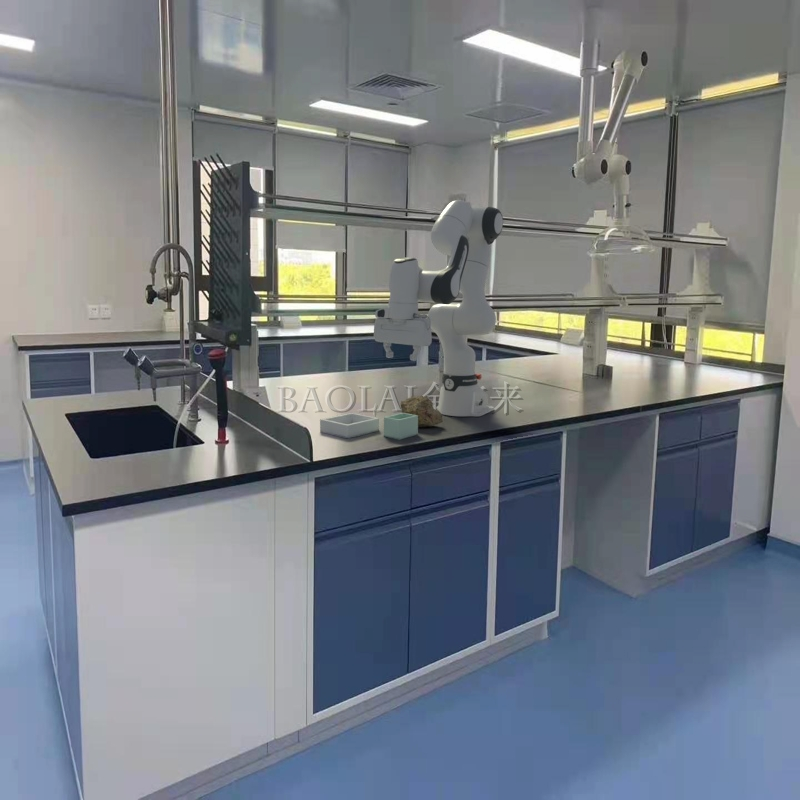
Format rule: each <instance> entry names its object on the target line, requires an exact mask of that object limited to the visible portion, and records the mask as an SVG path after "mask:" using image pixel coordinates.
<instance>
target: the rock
mask: <svg viewBox="0 0 800 800" xmlns="http://www.w3.org/2000/svg"><path fill="white" fill-rule="evenodd" d="M400 408H401V413H407V414H412V415H417V416H418V428H426V427H434V426H435V425H439V424H442V423H443V417H442V416H443V414H441V413H440V412H439V411H438V410H437V409H436V408H434V407H433V401H432V400H431V399H430V398H428V397H424V396H423V395H420V396H419V395H417V396H416V395H414V396H411V397H408V398H406V399H405V400H401V401H400Z"/></svg>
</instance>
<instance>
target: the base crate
mask: <svg viewBox="0 0 800 800" xmlns="http://www.w3.org/2000/svg"><path fill="white" fill-rule="evenodd" d="M319 427H320V428H319V431H320V433H322V434H327V435H331V436H335V437H340V438H343V439H347V440H348V439H351V438H355V437H359V436H364V435H367V434H371V433H377V432H379V431H380V418H379V417H375V416H369V415H364V414H359V413H355V412H349V413H345V414H339V415H336V416H331V417H325V418H321V419H320V420H319Z"/></svg>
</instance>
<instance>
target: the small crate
mask: <svg viewBox="0 0 800 800" xmlns="http://www.w3.org/2000/svg"><path fill="white" fill-rule="evenodd" d="M418 431H419V427H418V416H417V415H412V414H407V413H402V412H400V413H396V414H392V415H391V414H390V415H387V416H384V417H383V437H385V438H389V439H392V440H393V439H394V440H397V441H400V440H403V439H406V438H407V439H408V438H410V437H415V436H418V434H419V433H418Z"/></svg>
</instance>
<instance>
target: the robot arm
mask: <svg viewBox="0 0 800 800" xmlns="http://www.w3.org/2000/svg"><path fill="white" fill-rule="evenodd" d="M503 226H504V217H503V214H502V212H501V211H500V209H498V208H497V207H496V208H495V207H492V206H487V207H486V206H477V205H470V204H469V202H467V201H466V200H463V199H456V200H452V201H451V202H450V203H448V204H447V205H446V206H445V208H444V209H443V210H442V211H441V212H440V214H439V216H438V217H437V219H436V220H435V222H434V224H433V226H432V228H431V231H430V239H431V243H432V245H433V247H434V248H435V249H436V250H437V251H438V252H439V253H440V254H443V255H445V256H447V257H448V256H449V258H448V262H447V265H446V267H445V268H443V269H440V270H424V269H422V268H421V267H419V262H418V261H419V260H418V259H417V258H416V257H400V258H395V259H394V260H393V261H392V263H391V265H390V271H389V272H390V273H389V281H388V289H389V295H390V296H389V299H388V305H387V306H385V307H383V308H380V309H377V310H375V312H374V315H375V317H376V318H375V320H374V325H373V339H374V341H375V342H379V343H383V345H382V346H383V349H384V351H385V357H386V358H388V359H392V358H394V351H392V349H391V347H392V344H398V345H405V346H406V345H407V346H412V349H413V352H412V354H409V361H412V362H415V361H418V355H419V354H420V352H421V350H422V347H430V346H431V344H432V339H433V338H432V337H433V336H432V331H433V332H434V333H435V334H436V335H437V337H438V340H439V341H440V343H441V347H442V350H443V373H442V376H441V379H442V380H441V383H442V386H441V387H440V390H439V396H438V397H439V398H438V405H437V406H436V408H435V410H438V411H439V412H440V413H441V415H444V416H450V417H451V416H452V417H482V416H484V415H487V414H488V413H491V412H492V411H494V410H495V406H492V405H489V396H488V394H487V392H485V390H484V389H482V388H481V386H480V385H479V384H478V383H479V382H478V381H481V380H482V374H480V373H476V357H477V356H476V352H475V350H474V349H473V348H472V347H471V346H469V345H468V343H467V342H466V340H465V338H464V336H473V337H478V336H484V335H489V334H491V333H492V331H493V330H494V329H495V327H496V323H497V316H496V313H495V310H494V309H493V308H492V307H491V306H490V304H489V303H488V301H487V298H486V293H485V292H486V291H485V289H486V284H487V283H486V282H487V276H488V272H489V267H490V261H491V247H492V244H493V243H494V242H495V240H497V238H499V236H500V235H501V233H502V231H503V229H504V228H503ZM459 294H461V295H462V300H461V302H454V301H455V300H456V299H457V297H458V296H459ZM419 303H430V304H431V303H432V304H433V305H432V306H431V307H430V309H429V311H428V313H427V314H426V313H425V314H424V313H423V314H422V313H419ZM434 303H435V304H434Z"/></svg>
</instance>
